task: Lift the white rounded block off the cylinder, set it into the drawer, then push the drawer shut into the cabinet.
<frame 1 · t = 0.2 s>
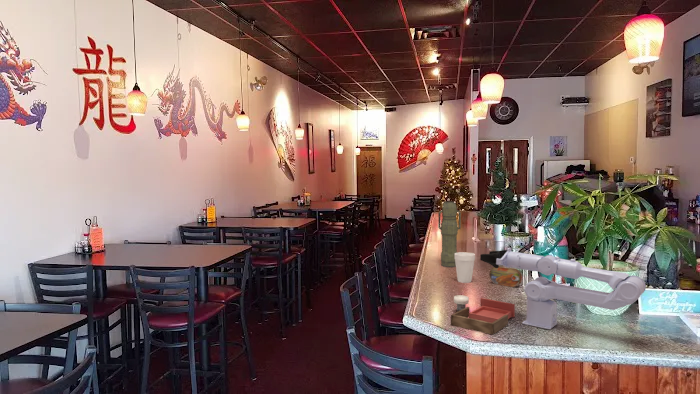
hand: (485, 255, 178), 22 cm above the bar counter, tool horizontal, fingers open, 7 cm apart
cabinet: (480, 324, 167), on the bar counter
thermos: (449, 265, 264), on the bar counter
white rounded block: (461, 302, 181), point 3 cm above the bar counter, touching cylinder
drawer: (490, 311, 173), point 3 cm above the bar counter, slide at 8.0 cm
tin: (505, 285, 221), on the bar counter
cylinder: (461, 311, 182), on the bar counter
foam cup: (464, 281, 229), on the bar counter
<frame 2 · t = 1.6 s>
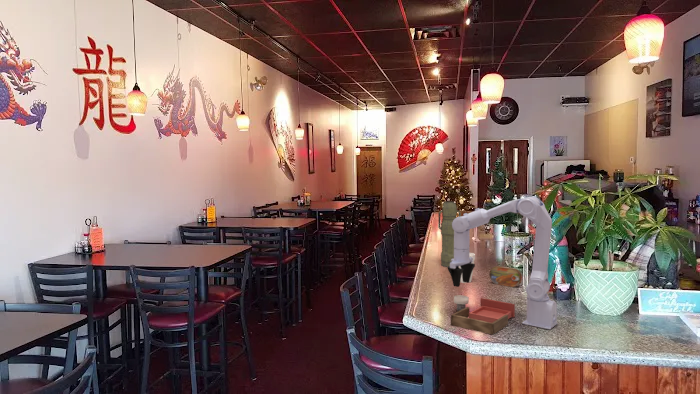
hand: (461, 284, 181), 10 cm above the bar counter, tool pointing down, fingers open, 7 cm apart
nothing on the bar counter moved.
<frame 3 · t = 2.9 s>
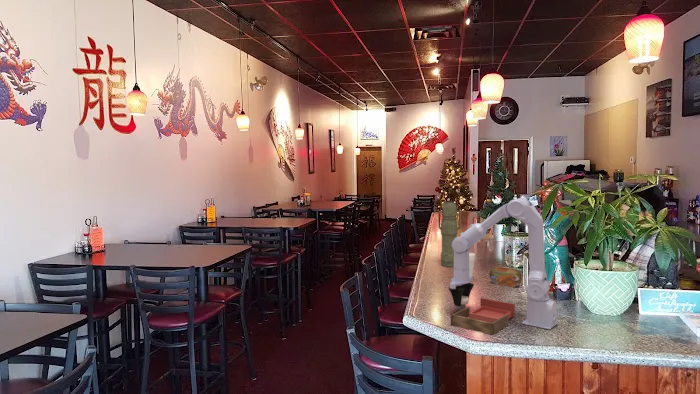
hand: (461, 303, 181), 3 cm above the bar counter, tool pointing down, fingers closed on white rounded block, 5 cm apart
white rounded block: (461, 302, 181), point 3 cm above the bar counter, touching gripper, cylinder
everything else where it was.
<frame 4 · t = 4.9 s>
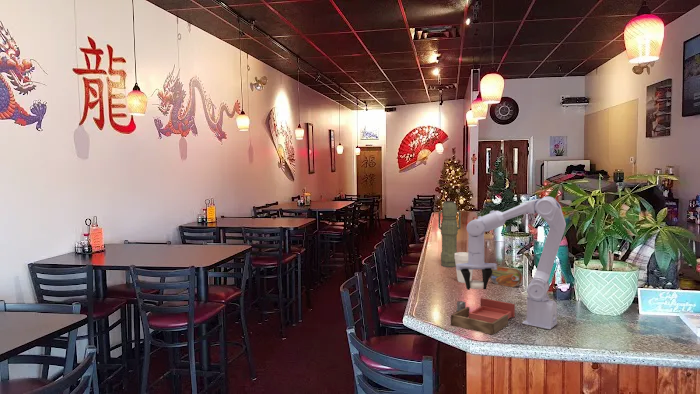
hand: (476, 288, 177), 10 cm above the bar counter, tool pointing down, fingers closed on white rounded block, 5 cm apart
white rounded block: (476, 287, 177), point 10 cm above the bar counter, touching gripper
everything else where it was.
when the fingers open (3 cm above the bar counter, at t = 7.4 s): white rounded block drops 3 cm, resting on drawer.
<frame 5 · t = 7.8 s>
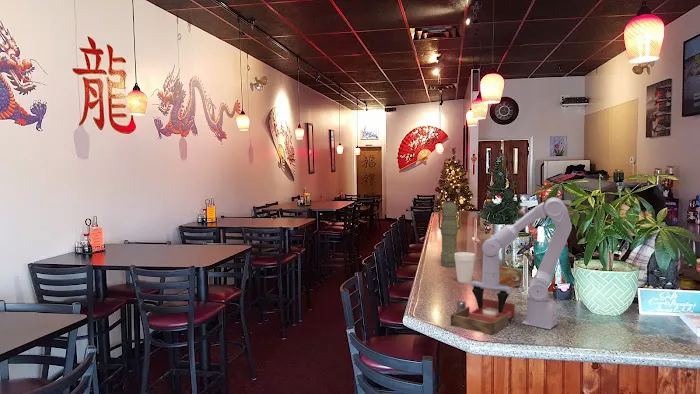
hand: (490, 309, 173), 3 cm above the bar counter, tool pointing down, fingers open, 7 cm apart
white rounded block: (490, 315, 173), point 1 cm above the bar counter, touching drawer
drawer: (490, 311, 173), point 3 cm above the bar counter, slide at 8.0 cm, touching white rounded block
everything else where it was.
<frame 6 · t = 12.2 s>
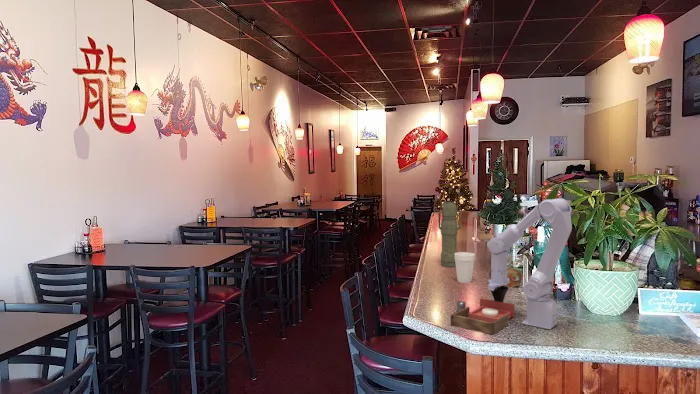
hand: (498, 306, 179), 3 cm above the bar counter, tool pointing down, fingers closed
drawer: (490, 311, 173), point 3 cm above the bar counter, slide at 7.6 cm, touching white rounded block, gripper
everything else where it was.
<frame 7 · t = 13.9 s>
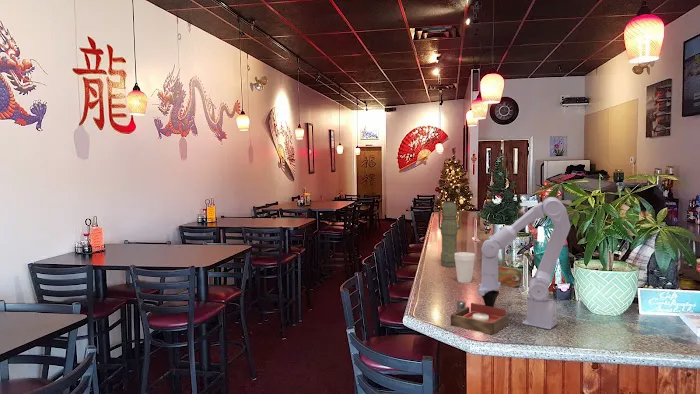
hand: (489, 311, 172), 3 cm above the bar counter, tool pointing down, fingers closed
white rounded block: (480, 321, 167), point 1 cm above the bar counter, touching drawer
drawer: (480, 316, 167), point 3 cm above the bar counter, slide at -0.1 cm, touching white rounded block, gripper
everything else where it was.
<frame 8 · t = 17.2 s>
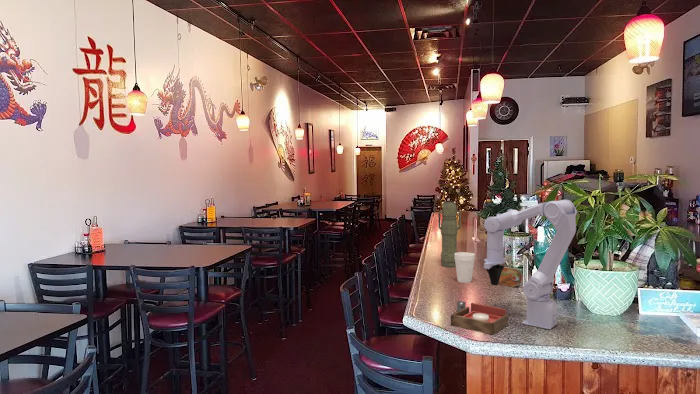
hand: (494, 284, 180), 10 cm above the bar counter, tool pointing down, fingers closed
drawer: (481, 316, 167), point 3 cm above the bar counter, slide at 0.0 cm, touching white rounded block
everything else where it was.
at the end: drawer slide at 0.0 cm; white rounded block inside the target area on the cabinet (0.1 cm from its centre), point 1.1 cm above the cabinet's base; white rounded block tilted 0° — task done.
